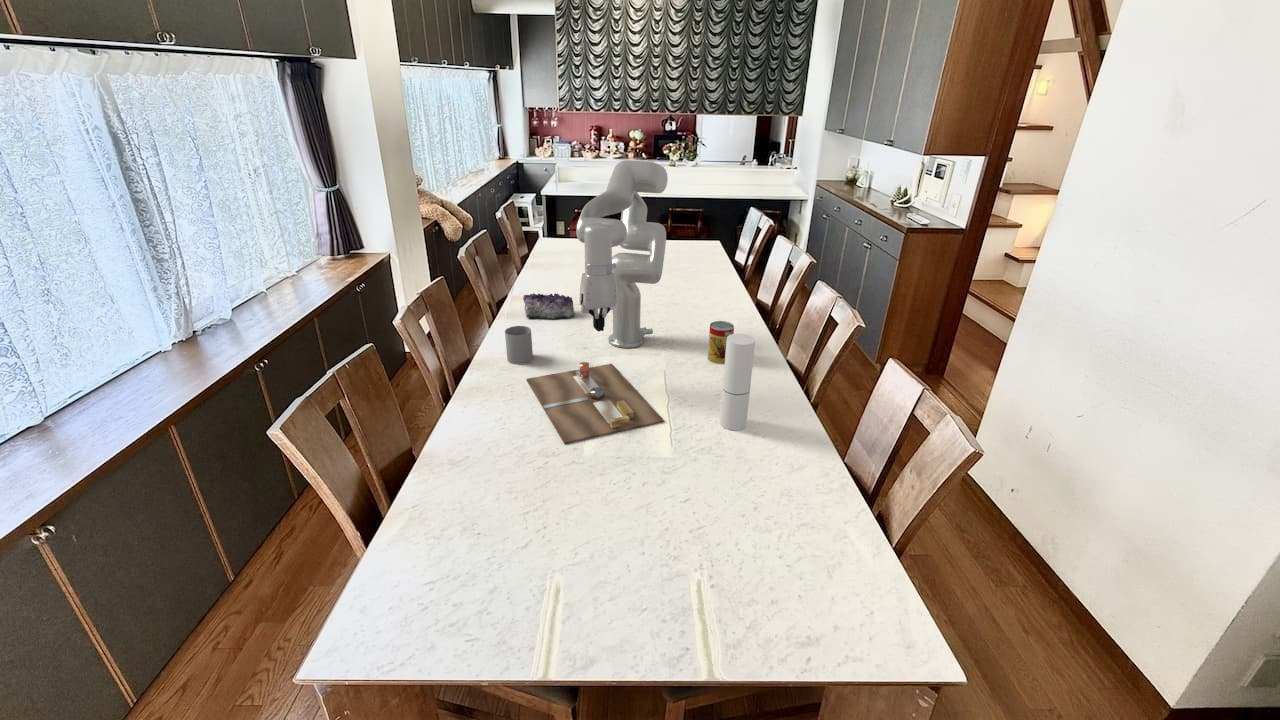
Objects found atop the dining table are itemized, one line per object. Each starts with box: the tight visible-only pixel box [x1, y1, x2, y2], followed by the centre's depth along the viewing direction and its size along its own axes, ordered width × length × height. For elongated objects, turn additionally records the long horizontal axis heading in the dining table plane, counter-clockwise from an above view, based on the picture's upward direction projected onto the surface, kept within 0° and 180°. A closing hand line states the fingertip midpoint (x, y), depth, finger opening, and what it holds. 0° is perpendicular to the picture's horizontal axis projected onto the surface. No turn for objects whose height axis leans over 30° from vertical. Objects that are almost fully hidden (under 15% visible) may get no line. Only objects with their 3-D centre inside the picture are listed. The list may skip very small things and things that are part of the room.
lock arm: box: [576, 361, 604, 399], centre depth 177 cm, size 17×4×5 cm, turn 24°
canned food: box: [707, 320, 735, 365], centre depth 197 cm, size 8×8×12 cm
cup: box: [504, 325, 534, 365], centre depth 195 cm, size 8×8×10 cm
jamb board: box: [526, 363, 664, 445], centre depth 172 cm, size 28×38×3 cm
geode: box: [522, 293, 575, 320], centre depth 231 cm, size 20×12×10 cm, turn 89°
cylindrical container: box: [719, 333, 756, 431], centre depth 157 cm, size 7×7×25 cm
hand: (599, 329), depth 176 cm, fingers closed
